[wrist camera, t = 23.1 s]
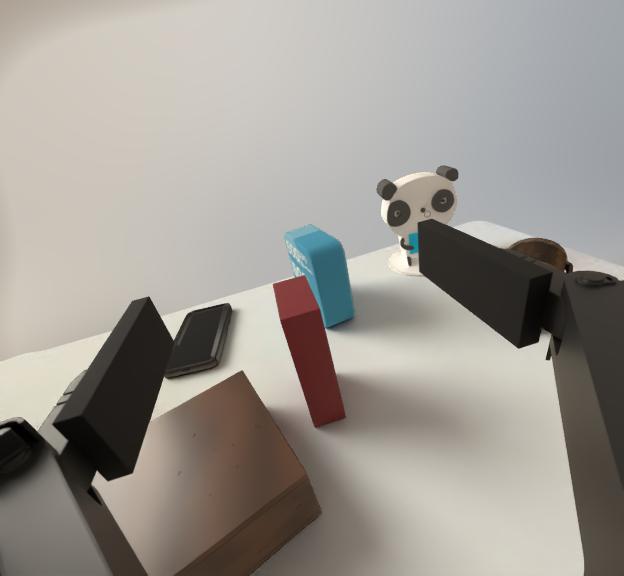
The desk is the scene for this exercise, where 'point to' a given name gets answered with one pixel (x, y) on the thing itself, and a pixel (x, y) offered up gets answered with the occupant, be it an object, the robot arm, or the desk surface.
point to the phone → (199, 340)
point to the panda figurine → (416, 210)
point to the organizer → (212, 487)
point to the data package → (322, 271)
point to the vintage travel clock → (544, 253)
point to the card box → (309, 349)
